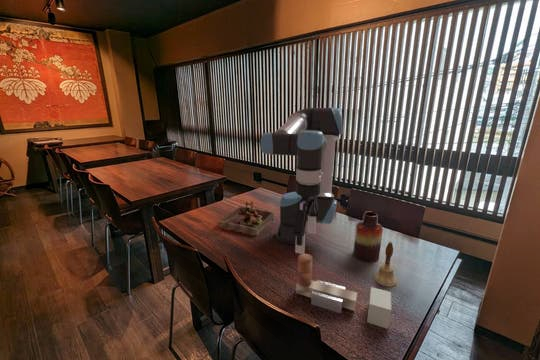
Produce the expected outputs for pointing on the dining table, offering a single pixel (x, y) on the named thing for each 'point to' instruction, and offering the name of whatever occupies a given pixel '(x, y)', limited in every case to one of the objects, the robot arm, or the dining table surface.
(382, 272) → the hand bell
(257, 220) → the bear figurine
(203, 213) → the dining table surface
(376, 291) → the white upright block
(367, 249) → the vase
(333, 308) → the sleeve
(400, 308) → the dining table surface
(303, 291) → the sliding bolt with handle
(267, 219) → the shallow square tray
